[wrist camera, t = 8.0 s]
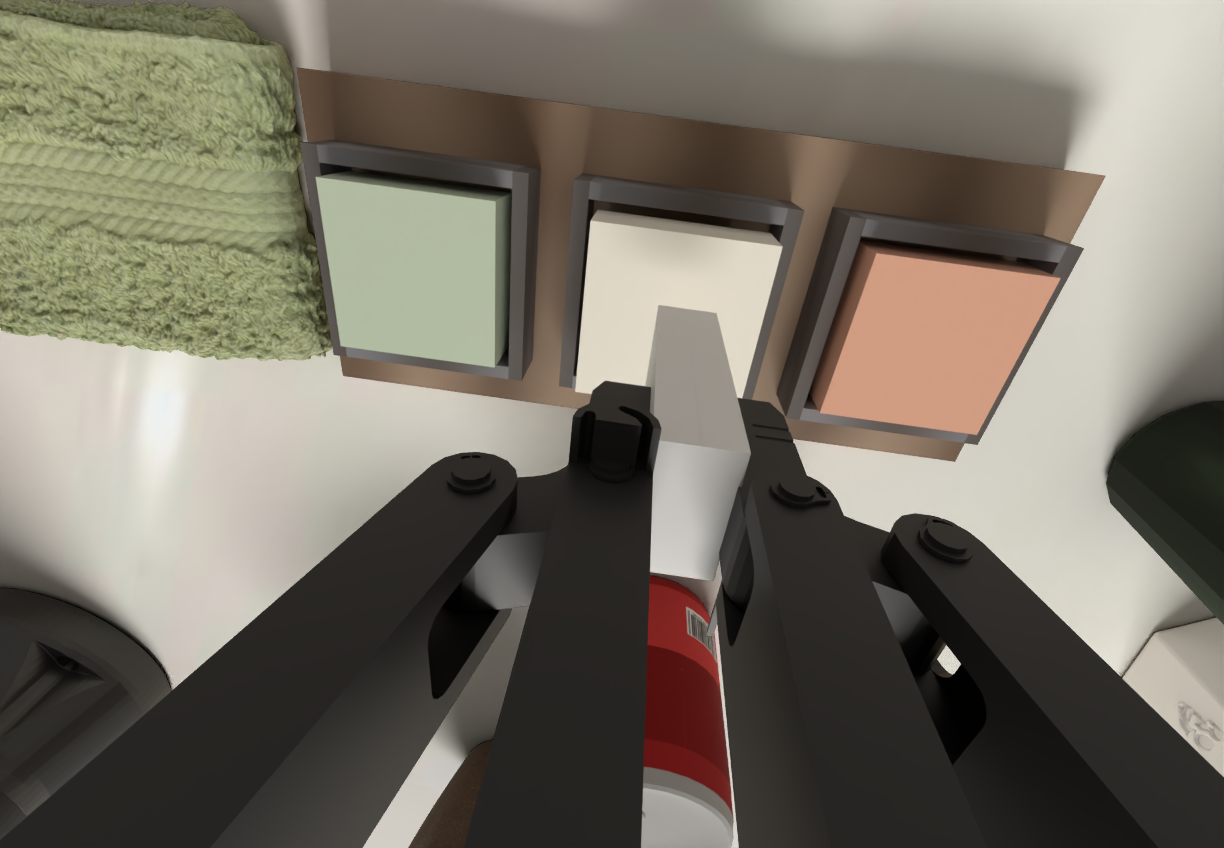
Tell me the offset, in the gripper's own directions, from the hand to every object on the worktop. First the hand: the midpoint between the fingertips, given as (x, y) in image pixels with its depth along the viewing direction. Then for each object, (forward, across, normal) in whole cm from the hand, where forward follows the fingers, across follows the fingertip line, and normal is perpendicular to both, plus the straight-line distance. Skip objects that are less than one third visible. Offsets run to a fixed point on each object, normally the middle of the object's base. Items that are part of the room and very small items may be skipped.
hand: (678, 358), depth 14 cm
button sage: (+6, -9, 0) cm, 10 cm away
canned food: (+9, +2, -20) cm, 22 cm away
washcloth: (+9, -23, 0) cm, 25 cm away
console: (+9, 0, 0) cm, 9 cm away
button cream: (+5, 0, 0) cm, 5 cm away
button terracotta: (+6, +8, 0) cm, 10 cm away
